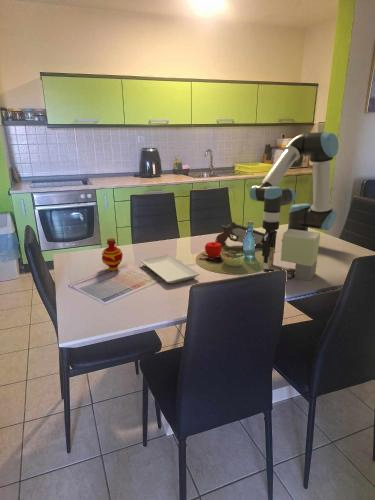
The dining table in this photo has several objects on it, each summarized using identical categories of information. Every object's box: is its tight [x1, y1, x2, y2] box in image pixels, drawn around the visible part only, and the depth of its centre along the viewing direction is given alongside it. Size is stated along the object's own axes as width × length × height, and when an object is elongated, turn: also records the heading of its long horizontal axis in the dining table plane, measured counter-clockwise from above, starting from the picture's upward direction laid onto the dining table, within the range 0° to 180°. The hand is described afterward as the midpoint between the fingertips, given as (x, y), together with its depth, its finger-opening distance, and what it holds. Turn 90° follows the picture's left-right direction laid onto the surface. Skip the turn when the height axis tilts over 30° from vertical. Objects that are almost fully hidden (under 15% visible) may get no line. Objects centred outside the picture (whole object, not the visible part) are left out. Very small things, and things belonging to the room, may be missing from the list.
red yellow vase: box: [101, 237, 124, 272], centre depth 167 cm, size 10×10×15 cm
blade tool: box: [261, 247, 295, 275], centre depth 162 cm, size 4×15×10 cm, turn 58°
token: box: [286, 270, 294, 280], centre depth 158 cm, size 6×6×2 cm
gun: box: [214, 221, 265, 249], centre depth 201 cm, size 5×27×15 cm, turn 79°
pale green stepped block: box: [280, 229, 321, 282], centre depth 158 cm, size 10×15×20 cm
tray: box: [140, 254, 200, 285], centre depth 164 cm, size 17×31×4 cm, turn 29°
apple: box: [204, 241, 223, 259], centre depth 183 cm, size 9×9×8 cm
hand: (267, 267), depth 167 cm, fingers closed on blade tool, 4 cm apart
